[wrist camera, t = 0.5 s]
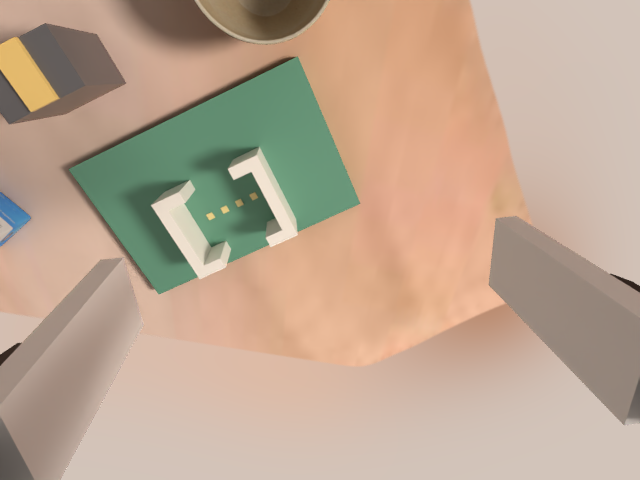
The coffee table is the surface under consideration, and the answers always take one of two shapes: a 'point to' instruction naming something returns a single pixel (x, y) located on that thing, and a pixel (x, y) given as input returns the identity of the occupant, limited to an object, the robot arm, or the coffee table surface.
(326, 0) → the flower pot
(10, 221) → the ink box
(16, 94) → the plug
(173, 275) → the board
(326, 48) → the coffee table surface
